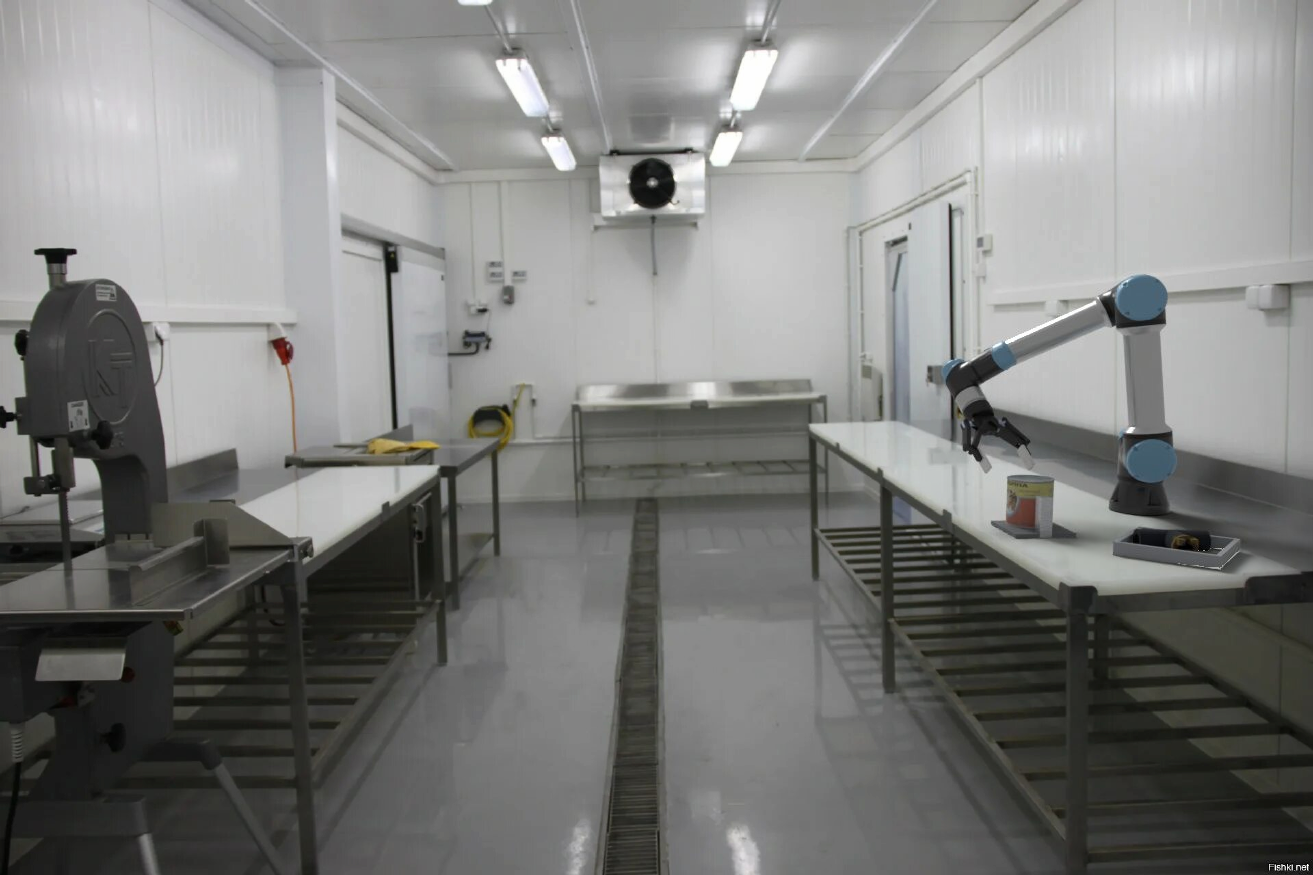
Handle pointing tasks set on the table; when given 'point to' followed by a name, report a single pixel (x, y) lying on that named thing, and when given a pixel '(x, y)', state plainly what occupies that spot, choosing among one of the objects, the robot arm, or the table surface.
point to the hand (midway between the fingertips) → (1010, 468)
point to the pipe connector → (1174, 539)
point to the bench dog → (1044, 515)
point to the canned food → (1025, 498)
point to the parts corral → (1177, 551)
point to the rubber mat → (1032, 531)
